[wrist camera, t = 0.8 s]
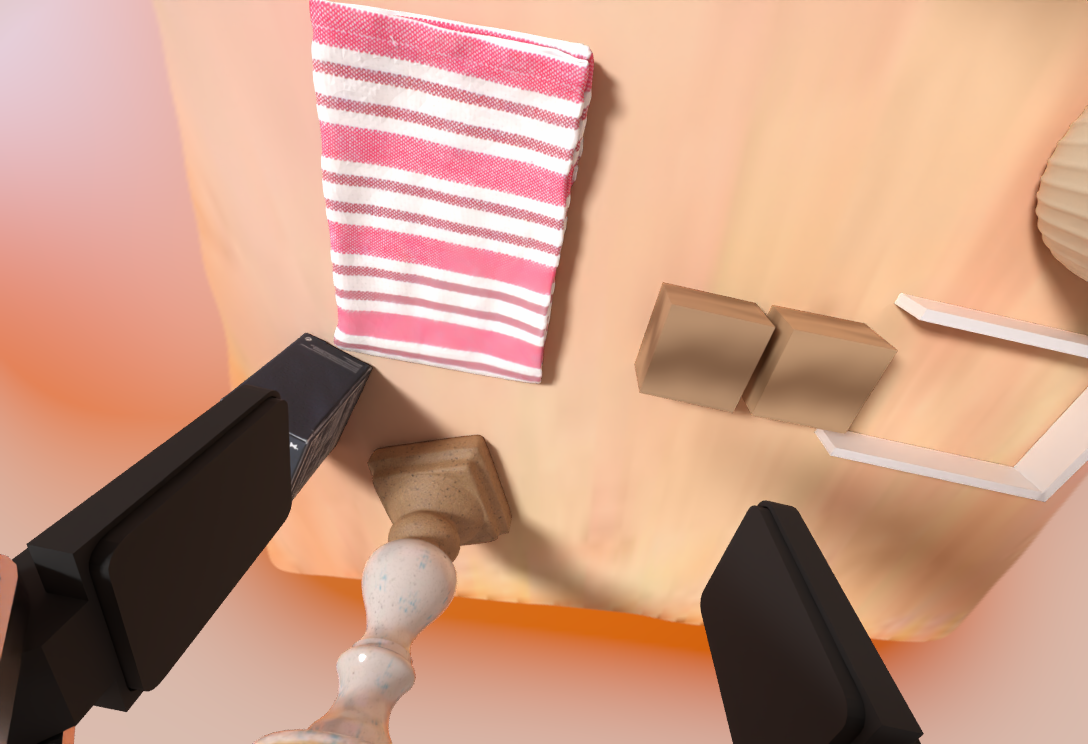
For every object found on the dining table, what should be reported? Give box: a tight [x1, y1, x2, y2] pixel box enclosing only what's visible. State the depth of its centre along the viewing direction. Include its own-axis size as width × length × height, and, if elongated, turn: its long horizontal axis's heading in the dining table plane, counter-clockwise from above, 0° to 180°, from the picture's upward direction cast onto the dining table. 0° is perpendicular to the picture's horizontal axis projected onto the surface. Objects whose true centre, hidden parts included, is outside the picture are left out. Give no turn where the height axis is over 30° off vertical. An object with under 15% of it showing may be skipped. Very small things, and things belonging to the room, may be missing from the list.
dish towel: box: [309, 0, 594, 384], centre depth 33 cm, size 17×23×4 cm
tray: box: [815, 293, 1088, 502], centre depth 36 cm, size 13×18×3 cm
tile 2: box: [742, 305, 898, 434], centre depth 35 cm, size 7×7×4 cm
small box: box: [220, 333, 372, 500], centre depth 37 cm, size 11×6×10 cm, turn 149°
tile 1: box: [635, 282, 775, 413], centre depth 35 cm, size 7×7×4 cm
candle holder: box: [253, 435, 512, 744], centre depth 36 cm, size 11×11×24 cm
